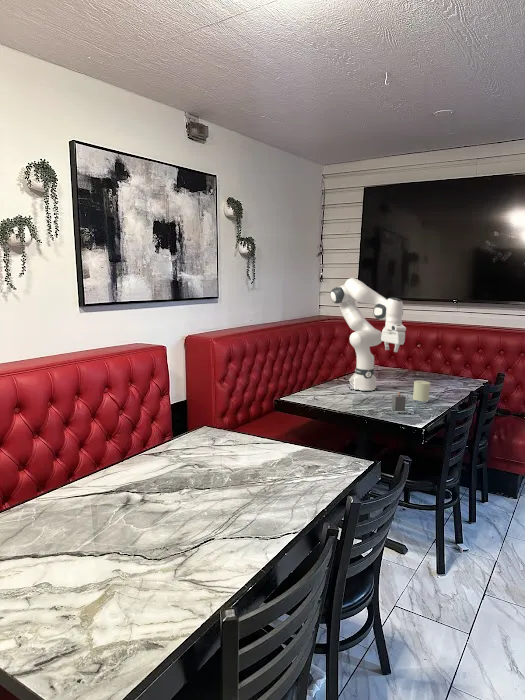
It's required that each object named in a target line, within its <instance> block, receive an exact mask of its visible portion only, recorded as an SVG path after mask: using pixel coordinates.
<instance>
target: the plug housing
mask: <svg viewBox="0 0 525 700" xmlns="http://www.w3.org/2000/svg"><path fill="white" fill-rule="evenodd" d="M391 397H392V399H391V400H392V401H391V404H392V410H394V411H405V406H406V402H407V401H406V397H407V396H405V395H403V394H401V392H398V393H397V394H392V396H391Z"/></svg>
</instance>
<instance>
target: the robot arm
mask: <svg viewBox="0 0 525 700" xmlns="http://www.w3.org/2000/svg"><path fill="white" fill-rule="evenodd" d="M329 296H330V299H331V301H332V303H334V304H339V309H340V311H341V312H340V313H341V314H342V317H343V318H344V320H345V322H346V324H347V325H348V327H349V328H350V329H351V330H352V331H354V332H352V333H351V334H350V335H349V338H348V339H349V344H350V345H351V346H352V347H353V349H354V350H355V351H354V352H355V356H356V367H355V369H354V373H353V374H352V375H351V376H350V378H349V379H348V381H349V382H348V383H350V384H351V385H352V386H353V387H354V389H359V390H373V389H375V388H376V387H377V378H376V376H375V371H376V370H375V356H374V354H373V353H372V352H371V348H370V347H375V346H378V345H380V344H382V342H384V347H385V348H384V350H385V351H390V345H389V344H393V345H394V348H393V352H394V353H398V351H399V348H400V346H401V345H402V346H403V345H404V343H405V342H406V341H405V340H406V331H407V327H406V326H404V325H403V320H402V317H403V315H404V310H403V309H404V304H403V300H402V299H400V298H398V297H389V298H387V297H384V296H383V295H382V294H379V292H377V291H375V290H373V289H372V288H370V287H369V286H367V285H366V283H364V282H363V281H361V280H359V279H357V278H355V277H350V278H348V279H346V281H345V282H344V284H343V285H339V286H337V287H334V288H332V289H331V290H330V294H329ZM356 302H359V303H361V304H370V305H375V306H373V310H372V311H373V316H374V318H375V319H376V320H378V321H379V320H380V321H381V320H383V321H385V325H384V326H383V329H382V331H381V330H379V329H377V328H375V327H374V326H373V325H372V324H371V323H370V322H369V321H368V320H367V319H366V318H365V316H364V315H363V314H362V312H361V310H360V309H359V308H358V306H357V305H356Z"/></svg>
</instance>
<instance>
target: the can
mask: <svg viewBox="0 0 525 700" xmlns="http://www.w3.org/2000/svg"><path fill="white" fill-rule="evenodd" d="M430 388H431V382H430V381H426V380H415V381H413V393H412V400H413V399H414V400H419V401H427V400H429V401H430Z"/></svg>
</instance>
